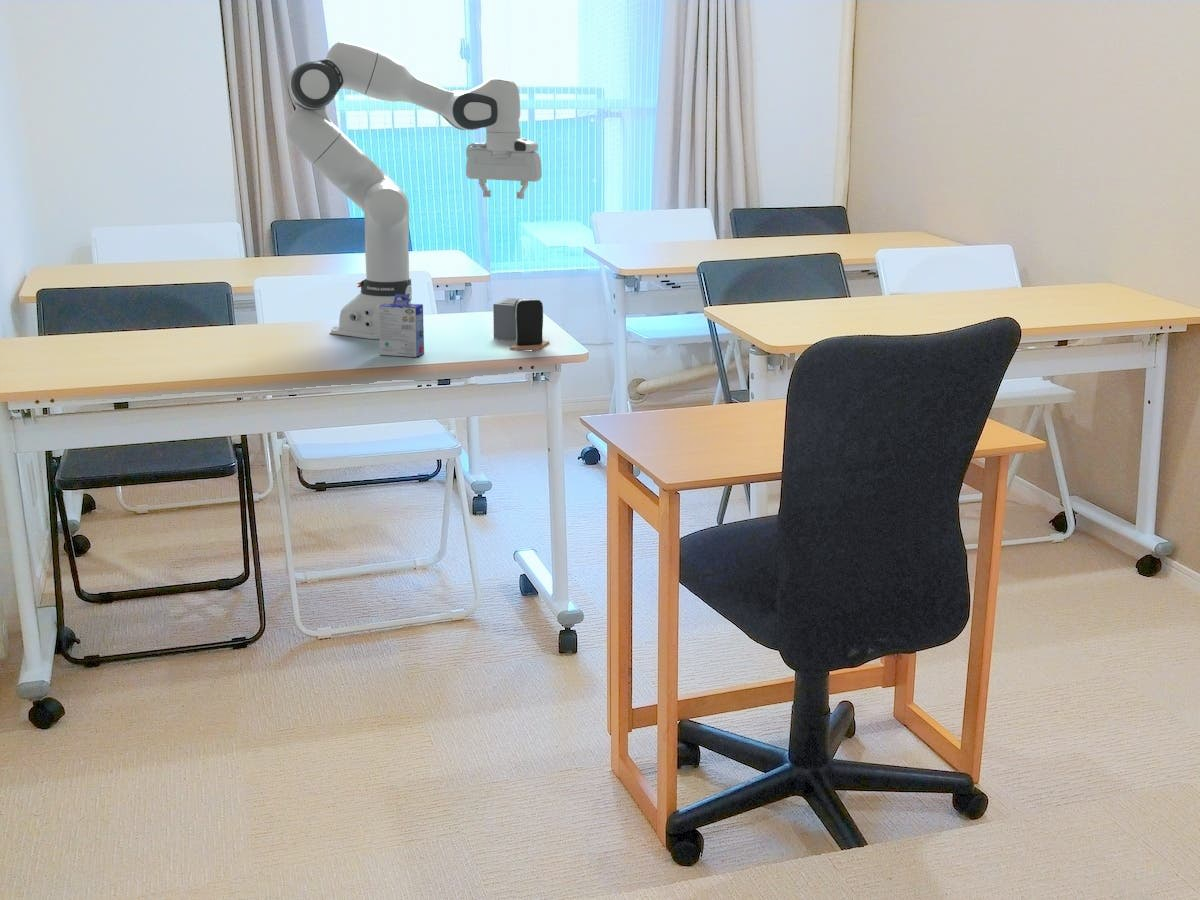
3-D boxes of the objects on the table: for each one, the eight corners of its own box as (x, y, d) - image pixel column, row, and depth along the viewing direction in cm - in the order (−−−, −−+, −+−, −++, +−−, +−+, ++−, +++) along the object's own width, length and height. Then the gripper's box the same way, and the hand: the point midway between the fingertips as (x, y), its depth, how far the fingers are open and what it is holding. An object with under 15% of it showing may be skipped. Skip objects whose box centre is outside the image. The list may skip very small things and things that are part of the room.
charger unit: (493, 338, 306) (493, 303, 303) (508, 330, 315) (507, 296, 313) (522, 340, 304) (522, 305, 301) (536, 332, 313) (536, 298, 311)
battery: (539, 341, 300) (539, 296, 297) (543, 344, 297) (543, 299, 293) (512, 343, 298) (512, 298, 295) (516, 346, 295) (516, 300, 291)
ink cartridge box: (425, 353, 288) (423, 294, 284) (417, 358, 283) (416, 298, 279) (387, 350, 290) (385, 292, 286) (378, 355, 285) (376, 296, 281)
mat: (509, 349, 293) (509, 347, 293) (523, 341, 303) (523, 339, 302) (536, 351, 292) (536, 349, 291) (549, 343, 301) (549, 341, 301)
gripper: (461, 142, 306) (462, 197, 310) (535, 145, 301) (535, 200, 305) (471, 141, 312) (471, 195, 316) (543, 144, 306) (543, 198, 310)
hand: (503, 197), depth 310 cm, fingers open, 8 cm apart
